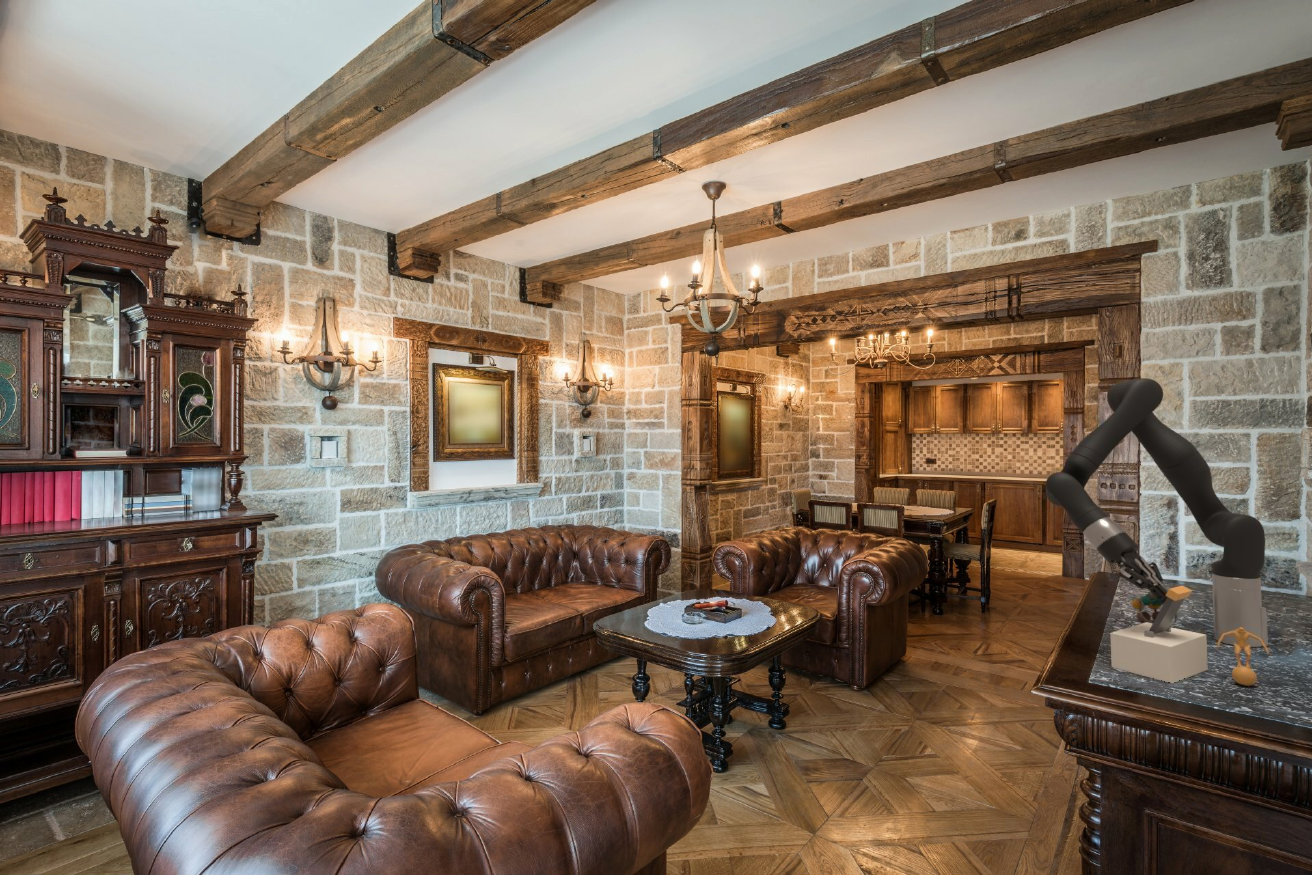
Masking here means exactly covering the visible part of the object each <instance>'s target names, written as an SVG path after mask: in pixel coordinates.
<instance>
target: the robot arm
mask: <svg viewBox="0 0 1312 875" xmlns="http://www.w3.org/2000/svg"><path fill="white" fill-rule="evenodd" d="M1163 391H1164V390H1163V387H1162V386H1161V385H1160V383H1159V382H1158V381H1156V380H1154V379H1152V378H1147V377H1145V378H1144V377H1142V378H1141V377H1140V378H1135V379H1129V380H1124V381H1121V382H1117V383H1115V384H1113V385H1111V387H1109V389H1108V391H1107V393H1106V400H1107V404H1108V406H1109V408H1110V410H1111V411H1112V412H1113V413H1112V414H1111V415H1110V416H1108V418H1107V419H1106V420H1105V421H1103V422H1101V424H1100V425H1099V426H1097V427H1095V428H1094V429H1093V430H1092V431H1091V432H1090V433H1088V434H1087V435H1086V436H1085V437H1084V438H1083V439H1081V441H1080V442H1079V443H1078V444H1077V445H1076V446H1075V448H1074V449H1073V450H1072V452H1070V454H1069V455H1068V456H1067V459H1066V460H1065V462H1064V464H1063V465H1064V466H1063V468H1062V469H1061V470H1060V472H1057V471H1056V472H1055V473H1051V474H1050V475H1049V476H1048V477H1047V479H1046V481H1045V484H1044V485H1045V494H1046V498H1047V499H1048V501H1049V502H1050V503H1052V505H1055V506H1059V507H1062V508H1063V509H1064V510H1065V511H1066V513H1067V515H1068V517H1069V519H1070V521H1071V522H1072V524H1074V526H1075V527H1076V528H1077V529H1078V530H1079V531H1080V532H1081V533H1082V534H1083V535H1084V536H1085V538H1086V539H1087V540H1088V542H1089V543H1090V545H1092V547H1093V548H1094V549H1095V550H1096V551H1097V552H1098V553H1099V554H1100V555H1101V557H1103V558H1104V560H1106V562H1107V563H1108V564H1111V565H1114V564H1116V565H1117V566H1118V568H1120V570H1121V571H1118V575H1119V576H1120V577H1121V578H1122V579H1124V580H1126V581H1127V582H1128V583H1131V584H1133V585H1134V586H1135V587H1137V588H1139V589H1140V590H1144V589H1145V590H1146V591H1148V592H1150V591H1151V593H1152V594H1153V595H1154V596H1155V597H1156V598H1157V599H1158V600H1159V601H1160V602H1161V603H1162V605H1163V604H1164V603H1165V601H1166V599H1167V596H1166V594H1167V592H1168V590H1166V589H1165V587H1163V585H1162V583H1163V581H1164V578H1163V577H1162V574H1161V572H1160V570H1159V567H1158V565H1157V564H1156V563H1155V562H1154V561H1152V562H1150V563H1149V562H1147V560H1146V559H1145V558H1144V557H1142V556H1141V555H1140V554H1139V553H1138V551H1139V548H1140V546H1139V544H1137V543H1136V542H1135V540H1134V539H1132V538H1131V536H1130V535H1128V533H1127V532H1126V531H1125V530H1124V529H1123V528H1122V527H1121V526H1120V525H1119V524H1118V523H1117V522H1116V521H1114V520H1113V519H1112V518H1110V516H1108V514H1106V512H1105V511H1104V510H1103V509H1101V507H1100V506H1098V505H1097V504H1096V502H1095V501H1093V499H1092V497H1091V496H1090V494H1089V493H1088V492H1087V491H1086V489H1085V487H1086V485H1087V484H1088V483H1089V480H1090V478H1091V477H1092V475H1093V474H1095V473H1096V471H1097V470H1099V468H1100V467H1101V465H1103V463H1104V462H1105V460H1106V459H1107V458H1108V457H1109V456H1110V454H1111V453H1112V451H1113V450H1115V448H1116V447H1117V446H1118V445H1119V444H1120V443H1121V442H1122V441H1123V440H1124V439H1125V437H1127V436H1128V435H1129V434H1130V433H1132V434H1133V435H1134V436H1135V437H1136V438H1137V440H1138V441H1139V442H1140V444H1141V445H1142V447H1143V448H1144V450H1146V452H1147V453H1148V455H1149V456H1150V458H1152V460H1153V461H1154V463H1155V464H1156V466H1157V467H1158V469H1159V470H1160V472H1161V473H1162V474H1163V476H1164V477H1165V478H1166V479H1167V481H1168V482H1169V483H1170V484H1171V486H1172V487H1173V489H1174V490H1175V491H1176V493H1177V494H1178V495H1179V496H1180V498H1181V500H1182V501H1183V502H1184V503H1185V505H1186V507H1187V508H1188V509H1189V511H1190V513H1191V514H1192V516H1193V517H1194V519H1195V521H1196V524H1197V525H1198V526H1199V528H1200V530H1201V532H1202V533H1203V535H1204V537H1205V538H1206V539H1207V540H1208V541H1209V542H1211V543H1212V544H1214V545H1216V546H1219V547H1223V553H1222V554H1223V556H1222V558H1221V559H1220V560H1217V561H1214V562H1213V563H1212V564H1211V577H1212V578H1211V580H1212V581H1211V583H1212V601H1213V602H1212V605H1213V628H1214V629H1213V632H1214V633H1213V634H1214V639H1215V640H1216V641H1217V642H1218V641H1219V639H1220V638H1221V635H1222V634H1223V633H1227V632H1230V631H1234V630H1236V629H1239V628H1240V627H1242V628H1244V630H1245V631H1247V632H1249V633H1251V634H1253V635H1255V636H1257V637H1259V638H1261V639H1262V641H1263V643H1264V644H1265V645H1266V647H1268V644H1269V643H1268V642H1269V641H1268V621H1267V620H1268V619H1267V618H1268V616H1267V608H1266V607H1264V606H1262V605H1263V603H1262V587H1261V586H1262V583H1261V582H1262V581H1261V577H1262V576H1261V572H1262V570H1263V568H1264V565H1265V559H1266V558H1265V555H1266V552H1265V551H1266V534H1265V533H1266V532H1265V529H1264V527H1263V524H1262V523H1261V521H1260V520H1258V519H1257V518H1256V517H1254V516H1253V515H1248V514H1245V513H1235V512H1231V511H1230V510H1229V509H1228V508H1227V507H1226V506H1225V505H1224V504H1223V502H1222V501H1221V500H1220V499H1219V497H1218V495H1217V494H1216V492H1215V490H1214V487H1213V479H1212V478H1213V477H1212V471H1211V468H1210V466H1209V465H1208V462H1207V461H1206V460H1205V458H1204V457H1203V456H1202V454H1201V453H1200V452H1199V449H1197V448H1196V447H1195V445H1194V444H1193V443H1191V441H1189V440H1188V439H1187V438H1185V437H1184V436H1182V435H1181V434H1180V433H1178V432H1177V431H1175V430H1173V429H1171V428H1170V426H1167V425H1166V424H1164V423H1163V422H1162V421H1161V420H1160V419H1159V418H1158V417H1157V416H1156V415H1155V413H1154V411H1155V410H1156V409H1158V407H1159V406H1160V405H1161V403H1162V402H1163V399H1164V392H1163ZM1220 643H1224V644H1227V645H1232V646H1234V643H1237V645H1238V641H1237V640H1236V637H1235V635H1227V636H1224V638H1223V639H1222V641H1221V642H1220ZM1247 645H1250V646H1251V648H1260V647H1263V646H1262V644H1261V643H1260V641H1259V640H1257V639H1255V638H1252V637H1248V640H1247V642H1246V646H1247Z"/></svg>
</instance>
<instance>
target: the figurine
mask: <svg viewBox="0 0 1312 875" xmlns="http://www.w3.org/2000/svg"><path fill="white" fill-rule="evenodd" d="M1227 635H1235V637H1236V640H1237V641H1238V645H1237V643H1234V645H1233V647H1234V654H1235V658H1236V660H1237V661H1236V663H1237V665H1236V666H1235V667H1234V668H1233V669H1232V670H1231V678H1232V679H1233V680H1234V681H1235V682H1236V683H1237V684H1238V685H1241V686H1245V687H1246V686H1247V687H1249V686H1253V685H1255V684H1256V683H1257V681H1258V677H1257V674H1256V672H1255V671H1254V670H1253V669H1252V668H1251V666H1250V660H1251V656H1252V650H1251V648H1252V647H1251V646H1250V645H1247V646H1246V642H1247V640H1248V637H1252V638H1255V639H1257V640H1259V641H1260V643H1261V644H1262V646H1261V647H1263V648H1264V649H1265V652H1266V654H1267V655H1270V651H1269V649H1268V646H1266V645H1265V644H1264V643H1263V641H1262V639H1261V638H1259V637H1257V636H1255V635H1253V634H1251V633H1249V632H1247V631H1245V630H1244V628H1242V627H1240V628H1239V629H1236V630H1234V631H1230V632H1227V633H1223V634H1222V635H1221V638H1220V639H1219V641H1218V640H1217V643H1216V648H1219V647H1220V646H1221V644H1220V643H1222V642H1221V641H1222V639H1223V638H1224V636H1227ZM1242 650H1243V652H1244V653H1245V654H1246V657H1245V659H1246V660H1245V665H1242V664H1241V659H1240V658H1241V656H1240V653H1241V652H1242Z"/></svg>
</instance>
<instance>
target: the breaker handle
mask: <svg viewBox="0 0 1312 875" xmlns="http://www.w3.org/2000/svg"><path fill="white" fill-rule="evenodd" d="M1192 592H1193V590H1192V589H1190V588H1189V587H1186V586H1183V585H1179V586H1176V587H1172V588H1169V589H1168V590H1167V594H1166V596H1167V599H1166V601H1165V603H1164V604H1162V605H1161V607H1160V610H1159V611H1160V612H1159V611H1158V612H1159V613H1158V615H1157V617H1156V619H1155V621H1154V620H1153V623H1152V626H1151V628H1150V630H1149V631H1152V632H1154V634H1157V633H1161V632H1164V631H1167V629H1168V627H1169V626H1170V625H1172V622H1173V620H1174V619H1175V615H1176V613H1178V611H1179V610H1180V608H1181V606H1182V604H1183V603H1184V600H1186V599H1187V598H1189V597H1190V596H1191V593H1192ZM1170 627H1171V626H1170Z"/></svg>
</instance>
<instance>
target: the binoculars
mask: <svg viewBox="0 0 1312 875" xmlns="http://www.w3.org/2000/svg"><path fill="white" fill-rule="evenodd" d="M1131 606H1132V607H1133V608H1134V609H1136V610H1138V611H1139V612H1137V613H1136V618H1137V620H1138V621H1139V622H1140V623H1141V624H1142V623H1145V622H1147V623H1151V622H1150V621H1151V619H1153V622H1154V621H1155V619H1156V617H1157V615H1158V613H1159V612H1160V610H1159V609H1161V608H1162V606H1163V604H1162V603H1161V602H1160V601H1159V600H1158V599H1157V598H1156V597H1155V596H1154V595H1153V594H1152V593H1151V591H1150V590H1149V591H1148V593H1147V594H1145V595H1143V596H1141V597H1139V598H1136V599H1134V600H1132V601H1131ZM1145 607H1148V608H1150V609H1151V610H1153V613H1152V614H1150V613H1149V612H1147V611H1144V610H1145ZM1157 610H1159V611H1157ZM1177 613H1178V612H1177ZM1177 613H1176V615H1175V617H1174V621H1173V623H1171V624H1170V627H1171V626H1173V625H1175V624H1176V623H1177V620H1178V614H1177Z"/></svg>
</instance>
